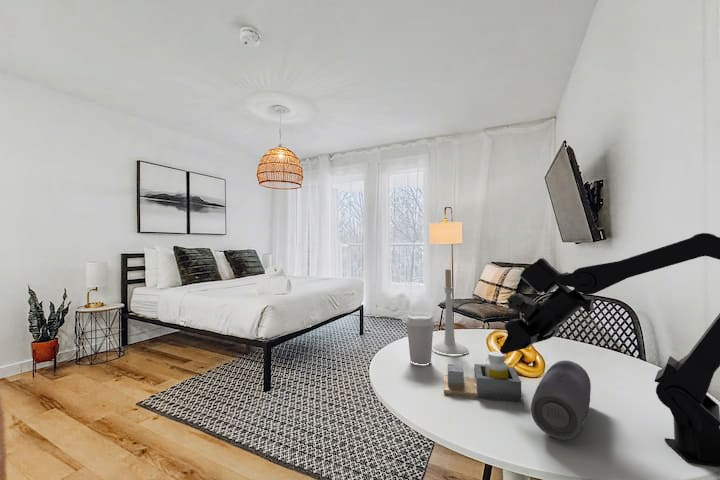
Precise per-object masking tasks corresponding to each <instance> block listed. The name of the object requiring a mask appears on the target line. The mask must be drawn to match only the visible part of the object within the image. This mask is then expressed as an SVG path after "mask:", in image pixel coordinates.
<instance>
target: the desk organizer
mask: <svg viewBox="0 0 720 480" xmlns="http://www.w3.org/2000/svg"><path fill="white" fill-rule="evenodd" d="M473 366H474V377H472V376H471V377H470V376H465V373H464V372H465V371H464V369H465V368H464V365H463V364H462V365H461V364H453V363H452V364H451V363H448V364H447V374H444V382H443V395H444V394H445V396H452V397H453V396H454V397H460V398H462V397H463V398H471V399H472V398H473V399H480V400H489V401H495V402H496V401H498V402H508V403H514V404H523V401H522V398H523V397H522V381H521V379H520V378H519V375H518V373H517V371H516V369H515V367H514V366H508V379H507V378H497V377H486V364H481V363H474V365H473Z"/></svg>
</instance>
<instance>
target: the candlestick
mask: <svg viewBox="0 0 720 480" xmlns="http://www.w3.org/2000/svg"><path fill="white" fill-rule="evenodd" d="M444 276H445V277H444V278H445V279H444V280H445V287H443V289H444V293H445V295H446V296H445V313H444V315H445V320H444V341H442V342H438V343H435V344H433V345H432V347H433V348H434V349H435V350H437V351H439V352H442V353H446V354H464V353H467V352H468V353H469V349H468V347H466V346H465V345H463V344H461V343H458V342H456V340H455V339H456V337H455V328H454V327H455V326H454V313H453V302H452V301H453V299H452V294H453V289H454V287H452V269H449V268H447V269H445V271H444Z"/></svg>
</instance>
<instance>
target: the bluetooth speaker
mask: <svg viewBox="0 0 720 480" xmlns="http://www.w3.org/2000/svg"><path fill="white" fill-rule="evenodd" d="M591 387H592V386H591V379H590V377H589V374H588V373H587V371H586V370H585V369H584V367H582V366H581V365H580V364H578V363H577V362H574V361H571V360H559V361H556V362H555V363H554V364H552V365H551V366H550V367H549V368H548V370H546V372H545V374H543V377H542V378H541V380H540V381H539V383H538V385H537V387H536V389H535V392H534V394H533V397H532V399H531V403H530V404H531V405H530V413H531V417H532V419H533V421H534V423H535V424H536V426H537V427H538V429H540V430H541V431H542V432H543V433H544V434H546V435H548V436H551V437H553V438H556V439H559V440H571V439H573V438H575V437H576V436H577V435H578V434H579V432H580V431H581V429H582V428H583V426H584V423H585V420H586V418H587V416H588V412H589V408H590V402H591V391H592V390H591V389H592V388H591Z"/></svg>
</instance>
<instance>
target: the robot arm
mask: <svg viewBox="0 0 720 480" xmlns="http://www.w3.org/2000/svg"><path fill="white" fill-rule="evenodd" d="M702 257H708V258H712V259H716V260H720V237H719V236H717V235H715V234H713V233H708V232H707V233H706V232H705V233H704V232H702V233H697V234H695V235H692V236H691V237H689V238H685V239H684V240H680V241H677V242H674V243H670V244H668V245H665V246H662V247H659V248H655V249H651V250H649V251H646V252H642V253H640V254H637V255H633V256H631V257H627V258H625V259H624V258H623V259H621V260H618V261H617V260H616V261H611V262H605V263H600V264H599V263H598V264H594V265H588V266H582V267H579V268H576V269H575V270H574V271H573V272H571V273H570V272H563V273H561V272H559V271H558V270H557V269H556V268H555V267H553V266H552V265H551V263H549V261H547V260H546V259H545V258H543V257H541V258H539V259H538V260H536V261H535V262H533V263H532V264H530V265H529V266H528V267H526V268H524V269H523V271H522V272H521V273H520V276H519V277H520V278H521V280H523V281H524V282H525V283H527V285H529V286H530V287H531V288H532V289H533V290H534V291H535V292H536V293H538V294H542V293H543V294H545V295H548V294H549V293H551V292H552V291H553V292H552V293H551V294H550V295H549V296H547V298H545V299H544V300H543V301H542V302H537V301H535V300H533V299H531V298H529V297H527V296H525V295H523V294H520V293H512V294H511V295H510V296H509V297H508V298H507V299H506V301H507V305H506V306H507V307H508V308H510V309H513V310H514V311H517V312H519V313H521V317H522V318H513V319H510V320H508V321H507V322H506V323H505V324H504V329H505V331H506V333H507V336H506V338H505V340H504V341H503V343H502V345H501V347H500V349H499V352H501V353H502V354H505V355H506V354H508V353H512V352H516V351H519V350H525V349H527V348H530V347H531V346H532V345H534V344H536V343H540V342H543V341H546V340H550V339H551V338H553V337H555V336H557V335H558V334H559V333H560V325H562V324H565V323H566V322H567V321H568V319H569V317H571V316H572V315H573V314H575V313H576V312H577V311H578V310H579V309H581V308H582V309H583V310H584V311H585V312H587V313H590V312H592V311H593V310H595V306H594V299H595V298H593V297H586V296H584V295H594V294H597V293H600V292H601V291H604V290H605V289H608V288H610V287H611V286H614V285H616V284H618V283H621V282H622V281H624V280H626V279H629V278H631V277H636V276H639V275H643V274H646V273H649V272H653V271H656V270H660V269H663V268H666V267H667V268H668V267H670V266H674V265H677V264H681V263H684V262H688V261H690V260H694V259H697V258H702ZM557 287H558V288H557ZM569 287H570V288H569ZM556 288H557V289H556ZM571 288H573V289H571ZM525 321H526V322H525ZM719 368H720V312H719V313H718V315H717V316H716V317H715V319H713V321H712V323H711V324H710V325H709V326H708V327H707V329H706V330H705V331H704V333H703V334H702V335H701V336H700V338H699V339H698V340H697V342H696V344H695V345H693V347H692V348H691V350H690V351H689V353H688V354H686V355H685V356H684V357H682V358H681V359H679V360H677V359H675V358H674V357H673V356H671V355H669V356H668V359H667V361H666V364H665V365H664V367H662V368H661V369H658V371H657V373H656V375H655V378H654V380H653V381H654V382H655V383H657V385H656V388H655V393H656V396H657V398H658V399H659V401H660V402H661V404H662V405H664V406H665V407H667V408H668V409H669V410H670V412H671V414H672V417H673V435H674V438H669V437H668V438H667V437H665V438H664V442H665V443H666V444H667V445H668V446H669V447H670V448H672V449H673V450H674V451H675V453H677V454H678V455H679V456H680V457H681V458H682V459H683V460H685V461H686V462H689V463H692V464H699V465H706V466H713V467H719V466H720V405H719V404H718V403H717V402H716V401H715V400H713V398H711V397H710V396H709V395H708V391H709V388H710V385H711V383H712V380H713V377H714V375H715V373H716V372H717V370H718V369H719Z"/></svg>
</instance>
